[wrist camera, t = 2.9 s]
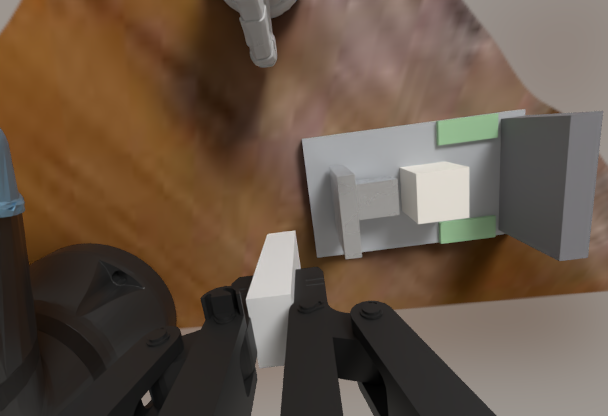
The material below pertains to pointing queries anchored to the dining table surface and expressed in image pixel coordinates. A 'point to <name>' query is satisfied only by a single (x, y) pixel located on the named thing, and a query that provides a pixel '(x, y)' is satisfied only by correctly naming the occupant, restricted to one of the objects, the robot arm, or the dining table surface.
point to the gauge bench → (472, 179)
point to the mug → (260, 27)
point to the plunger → (359, 204)
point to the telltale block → (435, 192)
